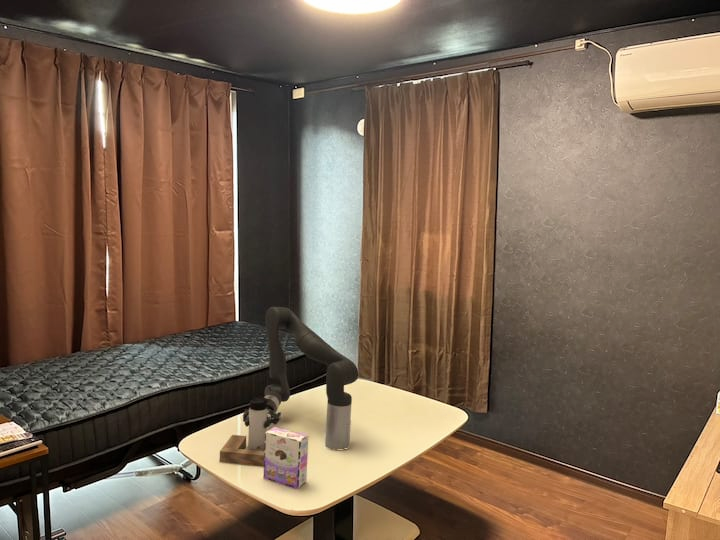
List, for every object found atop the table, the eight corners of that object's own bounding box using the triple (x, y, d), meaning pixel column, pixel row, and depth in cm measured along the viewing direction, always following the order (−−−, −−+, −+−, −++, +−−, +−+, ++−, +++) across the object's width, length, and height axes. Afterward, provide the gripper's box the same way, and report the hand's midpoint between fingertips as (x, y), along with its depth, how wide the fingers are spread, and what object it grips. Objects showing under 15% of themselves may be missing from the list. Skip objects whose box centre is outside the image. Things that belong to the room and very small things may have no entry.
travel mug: (262, 456, 195) (264, 403, 192) (245, 453, 196) (246, 400, 193) (268, 448, 201) (270, 396, 198) (252, 446, 202) (253, 394, 199)
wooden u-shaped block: (289, 450, 203) (289, 440, 203) (281, 468, 189) (281, 457, 189) (231, 444, 205) (232, 434, 204) (219, 462, 191) (219, 451, 190)
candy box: (307, 482, 181) (309, 434, 179) (297, 489, 176) (300, 441, 174) (272, 471, 187) (274, 425, 185) (262, 478, 181) (264, 431, 179)
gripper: (249, 396, 211) (236, 413, 195) (286, 399, 210) (276, 416, 194) (249, 415, 212) (236, 433, 196) (285, 418, 211) (275, 436, 195)
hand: (256, 424), depth 195 cm, fingers closed on travel mug, 6 cm apart
